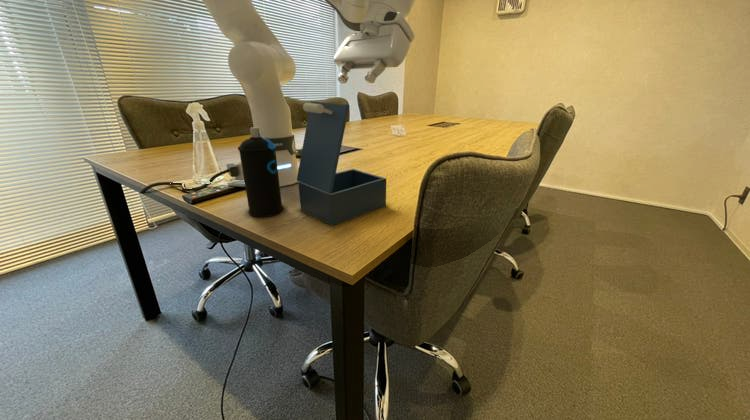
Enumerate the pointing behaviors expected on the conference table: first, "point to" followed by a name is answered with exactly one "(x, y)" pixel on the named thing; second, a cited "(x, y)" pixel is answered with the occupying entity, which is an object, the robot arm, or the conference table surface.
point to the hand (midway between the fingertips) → (354, 81)
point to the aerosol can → (260, 175)
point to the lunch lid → (322, 144)
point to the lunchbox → (344, 197)
